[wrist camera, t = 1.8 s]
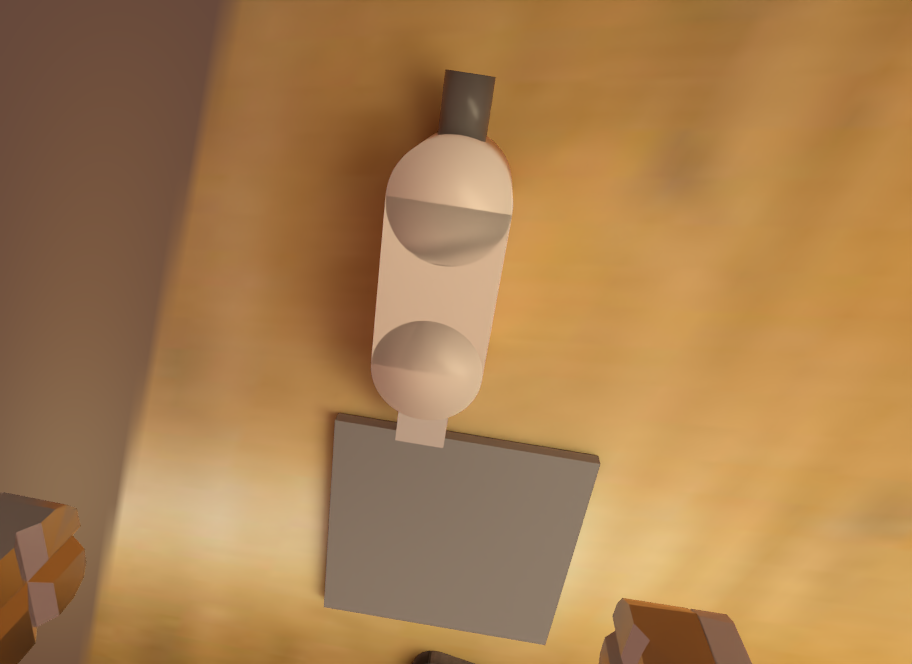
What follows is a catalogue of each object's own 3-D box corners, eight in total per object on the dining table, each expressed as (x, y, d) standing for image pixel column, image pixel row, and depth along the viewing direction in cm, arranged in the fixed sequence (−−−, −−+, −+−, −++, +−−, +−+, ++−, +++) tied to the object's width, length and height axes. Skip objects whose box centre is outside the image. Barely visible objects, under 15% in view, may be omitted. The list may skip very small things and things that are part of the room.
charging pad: (338, 412, 26) (334, 420, 25) (598, 456, 26) (600, 464, 25) (327, 597, 31) (323, 607, 30) (544, 634, 30) (545, 644, 30)
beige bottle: (417, 65, 20) (397, 61, 16) (530, 82, 20) (536, 83, 16) (383, 404, 25) (362, 458, 22) (470, 418, 25) (464, 475, 22)
